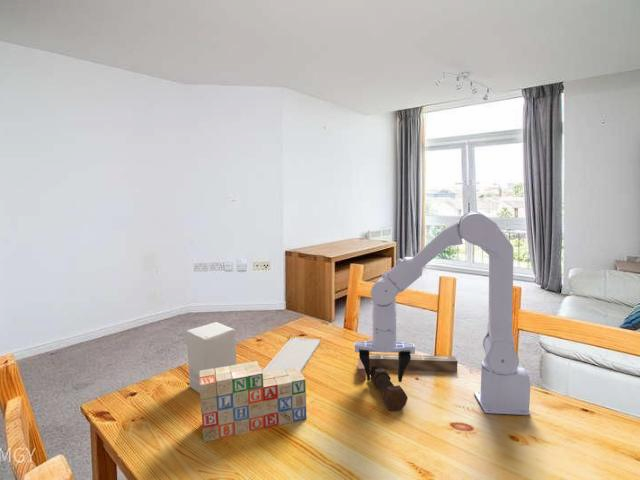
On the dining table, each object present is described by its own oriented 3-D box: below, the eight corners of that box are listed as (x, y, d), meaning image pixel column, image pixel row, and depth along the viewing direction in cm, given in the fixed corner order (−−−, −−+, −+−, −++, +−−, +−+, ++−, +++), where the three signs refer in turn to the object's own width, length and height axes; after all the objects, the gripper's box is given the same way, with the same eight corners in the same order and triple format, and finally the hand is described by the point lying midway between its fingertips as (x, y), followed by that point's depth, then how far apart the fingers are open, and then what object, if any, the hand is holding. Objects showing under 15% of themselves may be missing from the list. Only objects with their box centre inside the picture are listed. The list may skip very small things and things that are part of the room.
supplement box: (239, 385, 93) (236, 328, 91) (207, 400, 87) (203, 339, 85) (220, 373, 99) (217, 320, 98) (188, 386, 93) (185, 330, 91)
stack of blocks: (299, 404, 84) (298, 353, 83) (307, 420, 79) (305, 365, 77) (202, 424, 78) (198, 369, 76) (202, 443, 72) (199, 384, 70)
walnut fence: (454, 366, 101) (454, 355, 101) (463, 383, 92) (463, 371, 92) (358, 363, 104) (358, 353, 104) (358, 379, 95) (357, 368, 95)
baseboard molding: (244, 388, 93) (288, 394, 90) (243, 377, 92) (288, 383, 89) (286, 340, 122) (320, 344, 119) (286, 332, 122) (320, 335, 119)
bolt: (377, 384, 96) (399, 416, 81) (361, 377, 95) (380, 408, 80) (387, 364, 96) (411, 392, 81) (371, 357, 95) (392, 384, 80)
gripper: (412, 322, 93) (411, 372, 94) (354, 320, 94) (355, 370, 96) (416, 332, 86) (415, 386, 87) (354, 331, 87) (354, 384, 89)
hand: (384, 379), depth 91 cm, fingers open, 7 cm apart
